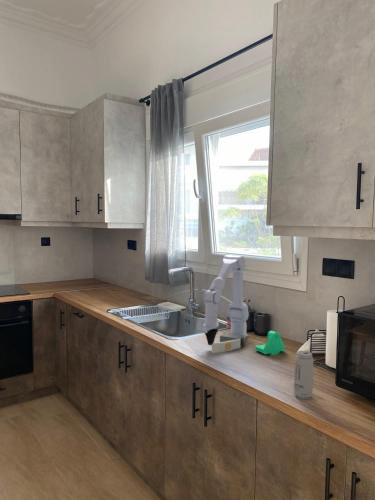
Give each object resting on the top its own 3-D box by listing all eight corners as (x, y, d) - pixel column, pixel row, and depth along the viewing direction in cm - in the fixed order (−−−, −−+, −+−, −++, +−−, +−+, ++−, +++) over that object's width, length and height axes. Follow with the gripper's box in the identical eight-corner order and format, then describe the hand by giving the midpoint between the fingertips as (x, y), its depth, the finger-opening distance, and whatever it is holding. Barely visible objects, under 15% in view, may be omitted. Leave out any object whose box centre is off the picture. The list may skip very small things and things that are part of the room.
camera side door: (211, 352, 174) (211, 343, 174) (239, 347, 183) (239, 338, 183) (213, 353, 173) (213, 344, 173) (241, 348, 182) (241, 339, 182)
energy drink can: (290, 393, 134) (291, 351, 133) (305, 391, 136) (306, 349, 135) (300, 401, 128) (302, 356, 127) (315, 398, 130) (317, 355, 129)
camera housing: (225, 341, 194) (225, 332, 194) (246, 344, 189) (246, 335, 189) (219, 344, 188) (219, 335, 188) (241, 348, 183) (241, 339, 182)
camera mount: (273, 348, 185) (274, 327, 185) (284, 352, 179) (285, 330, 178) (254, 351, 179) (254, 329, 179) (265, 356, 173) (266, 334, 172)
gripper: (209, 312, 187) (209, 339, 188) (196, 318, 175) (196, 347, 175) (223, 313, 184) (222, 341, 185) (211, 319, 171) (210, 349, 172)
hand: (210, 344), depth 180 cm, fingers closed
